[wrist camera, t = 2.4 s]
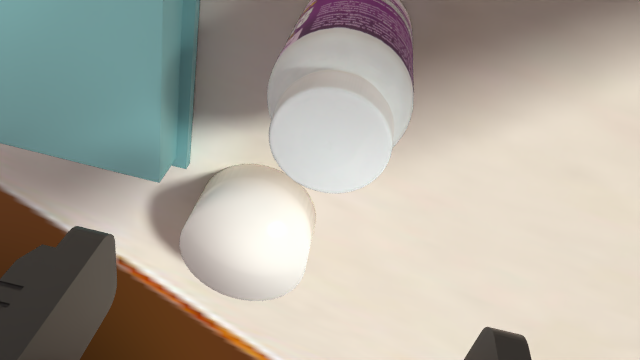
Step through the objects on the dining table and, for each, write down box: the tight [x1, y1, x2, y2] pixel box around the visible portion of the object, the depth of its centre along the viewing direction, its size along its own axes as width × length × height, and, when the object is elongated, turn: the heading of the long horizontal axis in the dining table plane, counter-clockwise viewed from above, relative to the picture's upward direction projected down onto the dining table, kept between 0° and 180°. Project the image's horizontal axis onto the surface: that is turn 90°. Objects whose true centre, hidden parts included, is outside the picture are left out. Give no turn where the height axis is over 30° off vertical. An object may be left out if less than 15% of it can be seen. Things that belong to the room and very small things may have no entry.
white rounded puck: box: [179, 164, 316, 301], centre depth 29 cm, size 7×7×4 cm
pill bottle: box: [267, 0, 414, 193], centre depth 20 cm, size 5×5×10 cm
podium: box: [0, 0, 200, 183], centre depth 25 cm, size 11×11×3 cm
